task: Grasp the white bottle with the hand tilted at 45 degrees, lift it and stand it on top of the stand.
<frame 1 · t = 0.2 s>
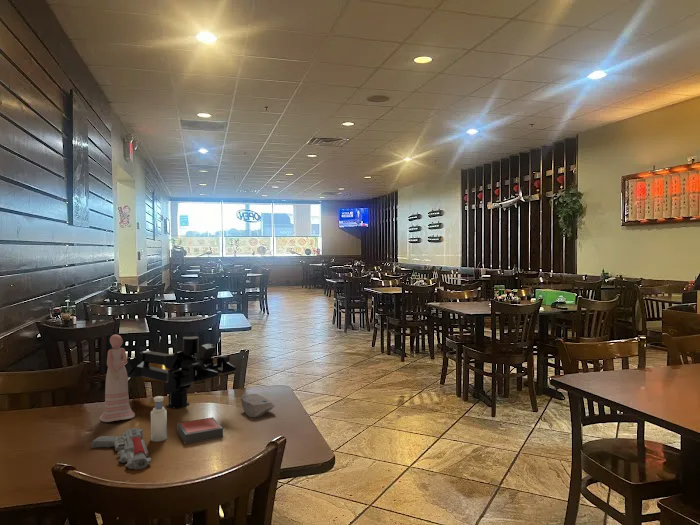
hand: (227, 371, 187), 17 cm above the table, fingers open, 9 cm apart
toy gun: (120, 456, 154), on the table
stand: (199, 434, 170), on the table
stone: (256, 413, 193), on the table
figurine: (117, 417, 186), on the table
white bottle: (158, 438, 166), on the table
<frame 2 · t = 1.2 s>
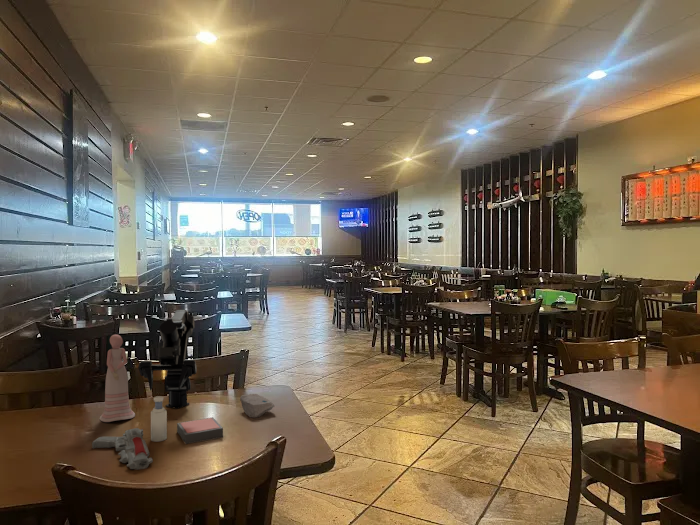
hand: (164, 389, 174), 14 cm above the table, fingers open, 9 cm apart
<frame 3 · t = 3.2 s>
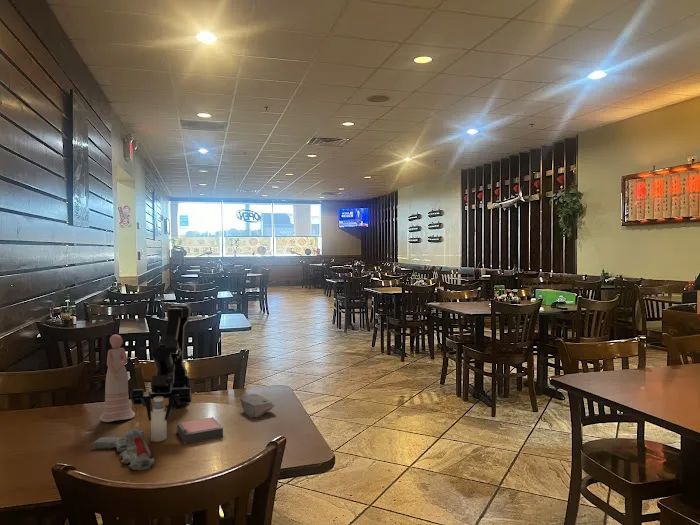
hand: (157, 420, 165), 7 cm above the table, fingers closed on white bottle, 5 cm apart
white bottle: (158, 438, 166), on the table, touching gripper
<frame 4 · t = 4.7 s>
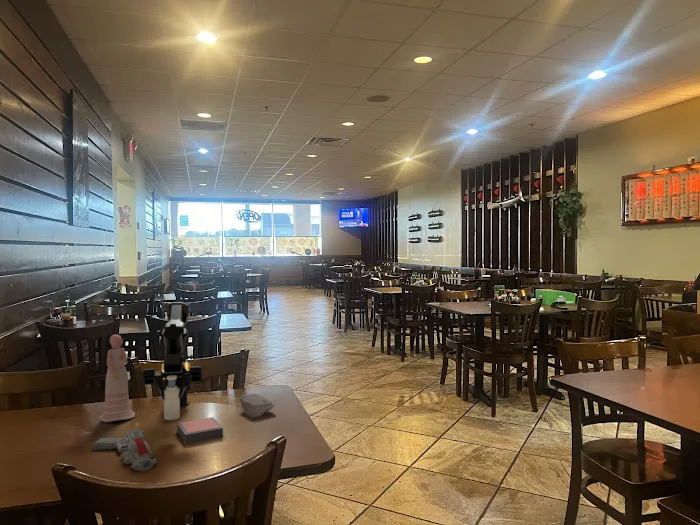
hand: (171, 398, 165), 13 cm above the table, fingers closed on white bottle, 5 cm apart
white bottle: (171, 417, 167), point 7 cm above the table, touching gripper
when the fingers open (10 cm above the table, at t = 6.2 s): white bottle stays where it is, resting on stand.
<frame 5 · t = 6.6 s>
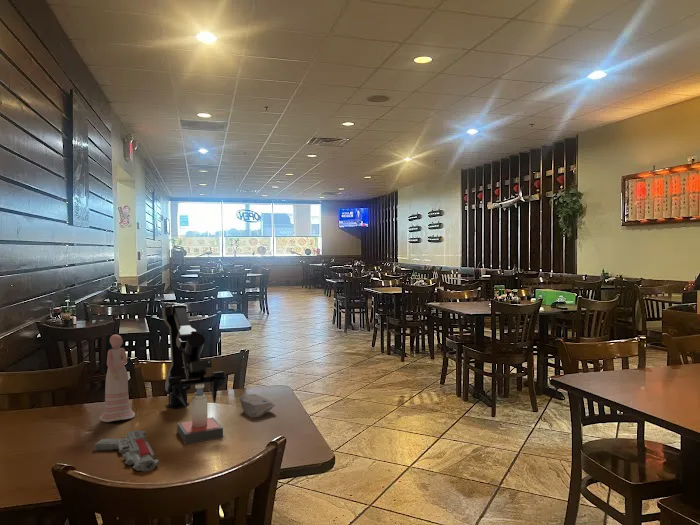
hand: (200, 404, 169), 11 cm above the table, fingers open, 9 cm apart
white bottle: (199, 424, 170), point 3 cm above the table, touching stand
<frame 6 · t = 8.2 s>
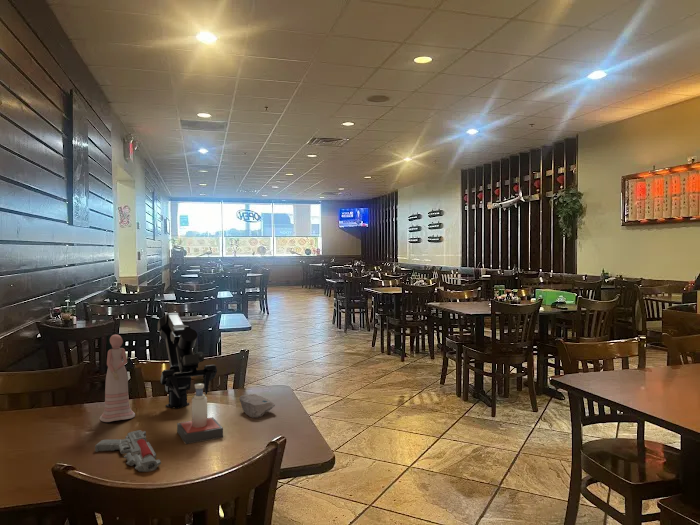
hand: (193, 395, 178), 11 cm above the table, fingers open, 9 cm apart
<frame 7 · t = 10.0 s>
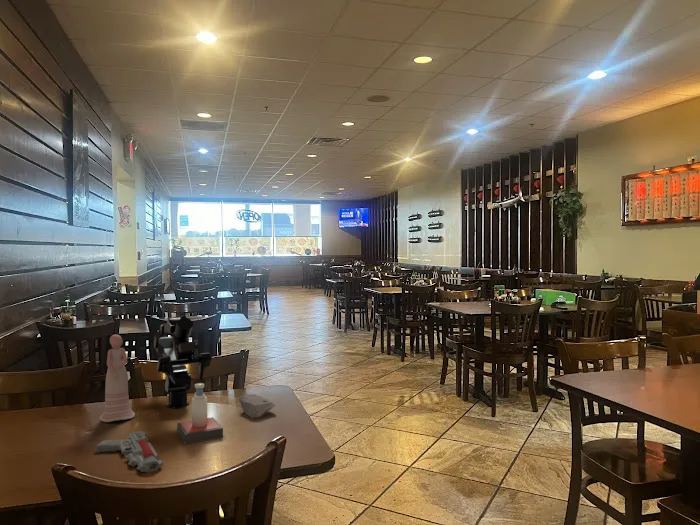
hand: (188, 381, 184), 14 cm above the table, fingers open, 9 cm apart
at the end: white bottle inside the target area on the stand (0.1 cm from its centre), point 3.2 cm above the stand's base; white bottle tilted 1°; the gripper is holding nothing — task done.
